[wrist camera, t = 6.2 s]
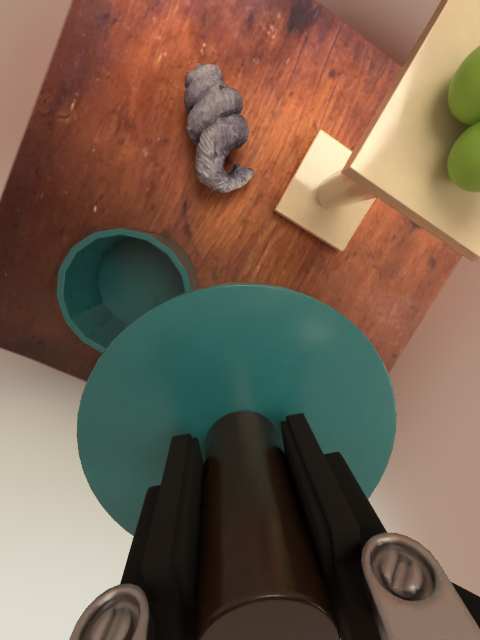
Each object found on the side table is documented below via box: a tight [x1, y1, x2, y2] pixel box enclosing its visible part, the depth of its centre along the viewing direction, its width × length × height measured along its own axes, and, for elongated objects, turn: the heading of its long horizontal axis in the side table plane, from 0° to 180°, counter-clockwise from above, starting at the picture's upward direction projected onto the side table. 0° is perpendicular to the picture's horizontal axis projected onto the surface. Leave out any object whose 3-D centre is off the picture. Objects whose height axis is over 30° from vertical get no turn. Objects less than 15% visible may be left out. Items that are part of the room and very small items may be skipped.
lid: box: [77, 282, 396, 640], centre depth 8 cm, size 11×11×7 cm
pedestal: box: [273, 0, 480, 262], centre depth 21 cm, size 8×8×18 cm
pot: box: [57, 228, 198, 353], centre depth 27 cm, size 10×10×8 cm
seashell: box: [184, 63, 254, 193], centre depth 26 cm, size 5×5×10 cm
